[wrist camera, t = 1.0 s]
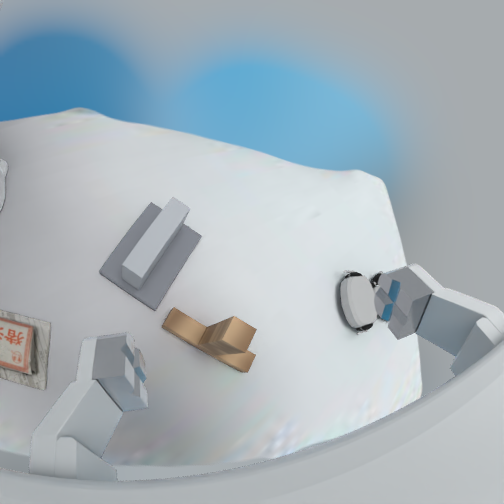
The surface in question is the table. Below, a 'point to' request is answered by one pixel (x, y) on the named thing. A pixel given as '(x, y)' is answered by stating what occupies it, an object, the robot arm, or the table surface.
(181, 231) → the ridge stand
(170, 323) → the wooden t-shaped block
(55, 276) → the table surface
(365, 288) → the robot toy
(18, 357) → the packaged product
